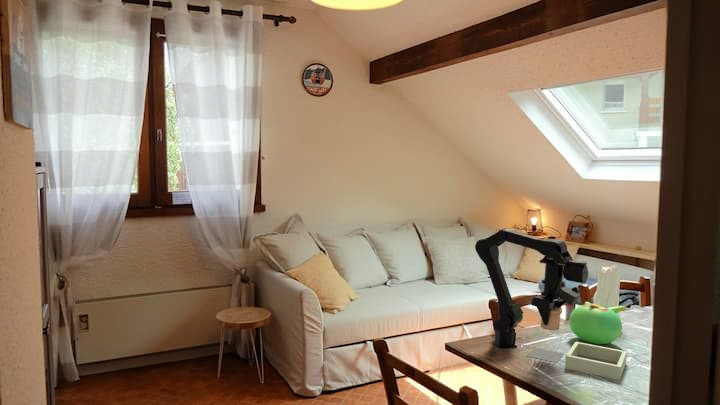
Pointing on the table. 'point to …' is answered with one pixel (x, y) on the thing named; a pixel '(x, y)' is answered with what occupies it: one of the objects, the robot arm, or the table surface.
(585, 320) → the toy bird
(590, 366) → the pale green square tray
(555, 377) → the table surface
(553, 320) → the terracotta pot
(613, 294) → the decorative vase
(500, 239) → the robot arm
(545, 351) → the slate pad
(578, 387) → the table surface
